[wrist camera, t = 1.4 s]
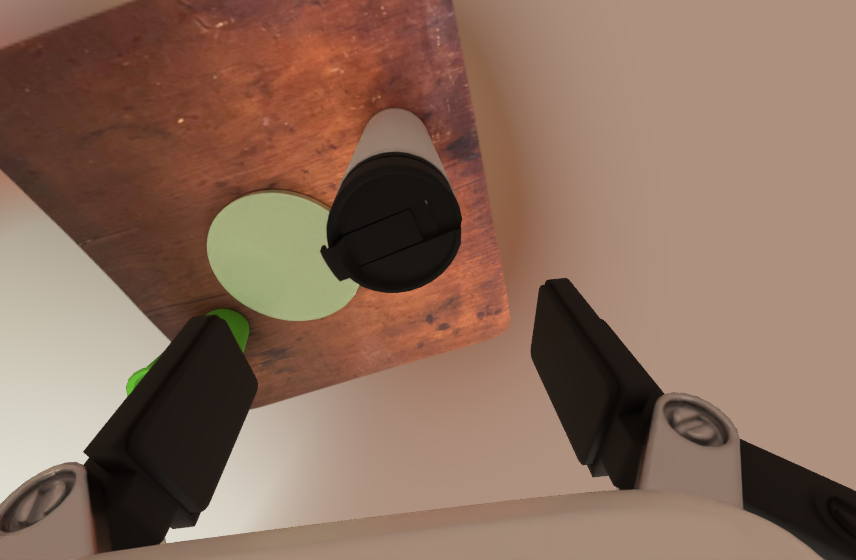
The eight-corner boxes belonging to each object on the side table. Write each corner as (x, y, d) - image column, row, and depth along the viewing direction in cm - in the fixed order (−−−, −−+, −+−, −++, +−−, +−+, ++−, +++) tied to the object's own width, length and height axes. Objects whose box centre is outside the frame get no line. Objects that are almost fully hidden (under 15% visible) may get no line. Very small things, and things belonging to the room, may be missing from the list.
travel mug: (346, 125, 30) (285, 208, 13) (415, 95, 29) (441, 144, 12) (376, 188, 33) (358, 318, 17) (438, 163, 32) (484, 273, 16)
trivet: (182, 197, 32) (176, 200, 31) (347, 181, 33) (346, 185, 32) (244, 322, 41) (241, 327, 40) (373, 308, 42) (373, 313, 41)
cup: (270, 304, 40) (233, 377, 31) (263, 356, 44) (228, 432, 35) (186, 286, 38) (119, 358, 29) (187, 342, 42) (129, 420, 33)
